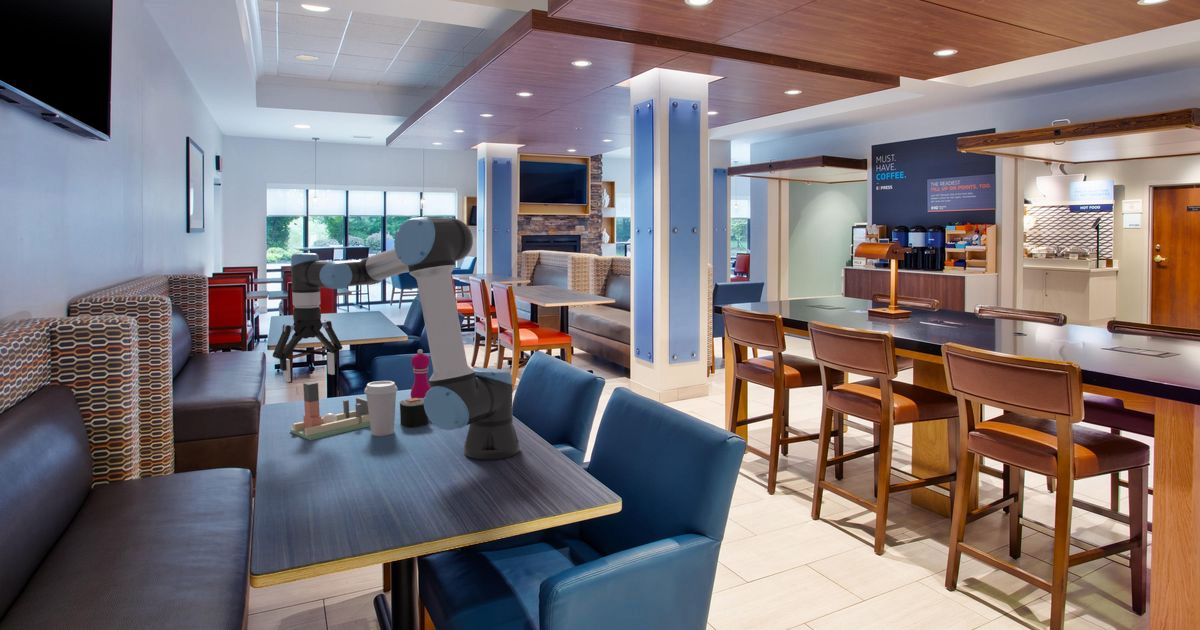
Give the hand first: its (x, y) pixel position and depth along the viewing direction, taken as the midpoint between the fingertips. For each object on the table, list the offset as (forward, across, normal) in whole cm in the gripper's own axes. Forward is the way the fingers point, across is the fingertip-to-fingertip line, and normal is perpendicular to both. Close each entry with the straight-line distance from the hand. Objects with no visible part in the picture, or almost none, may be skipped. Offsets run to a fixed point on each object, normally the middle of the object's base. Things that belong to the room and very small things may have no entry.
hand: (309, 377), depth 211 cm
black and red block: (+16, 0, 0) cm, 16 cm away
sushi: (+17, -26, +14) cm, 34 cm away
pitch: (+17, -7, 0) cm, 18 cm away
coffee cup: (+17, -14, +16) cm, 27 cm away
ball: (+14, -6, 0) cm, 15 cm away
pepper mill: (+17, -40, -1) cm, 43 cm away
